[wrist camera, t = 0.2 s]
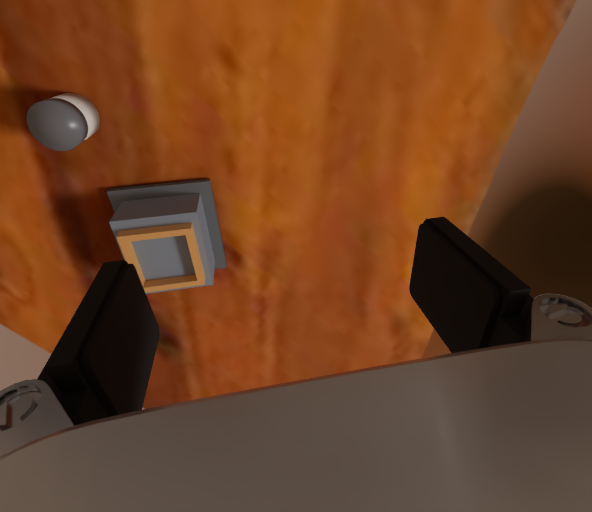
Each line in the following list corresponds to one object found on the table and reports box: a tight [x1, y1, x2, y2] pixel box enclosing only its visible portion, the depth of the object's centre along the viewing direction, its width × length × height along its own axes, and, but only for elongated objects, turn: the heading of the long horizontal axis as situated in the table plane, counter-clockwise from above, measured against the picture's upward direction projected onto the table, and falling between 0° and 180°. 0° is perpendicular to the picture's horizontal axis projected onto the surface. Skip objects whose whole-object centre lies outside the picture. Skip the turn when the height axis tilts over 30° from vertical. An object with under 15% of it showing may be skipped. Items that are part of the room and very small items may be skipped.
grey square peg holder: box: [107, 179, 226, 294], centre depth 45 cm, size 14×13×8 cm
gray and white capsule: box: [27, 93, 100, 151], centre depth 36 cm, size 5×5×6 cm
